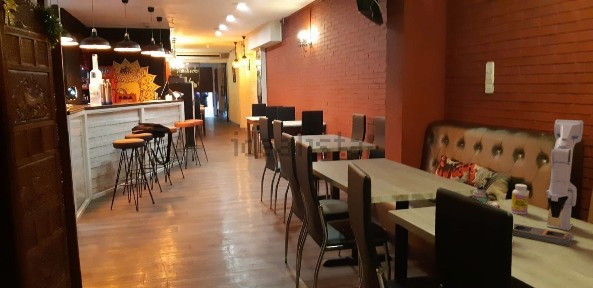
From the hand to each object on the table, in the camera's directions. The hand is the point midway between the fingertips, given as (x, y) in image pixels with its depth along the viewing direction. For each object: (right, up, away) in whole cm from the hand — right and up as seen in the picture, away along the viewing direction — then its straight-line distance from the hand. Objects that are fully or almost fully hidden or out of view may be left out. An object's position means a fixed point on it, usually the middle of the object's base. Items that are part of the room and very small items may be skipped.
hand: (556, 216), depth 169 cm
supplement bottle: (+4, -5, +36) cm, 37 cm away
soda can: (-22, -8, +8) cm, 25 cm away
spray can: (-28, -9, +4) cm, 29 cm away
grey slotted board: (-4, -9, +5) cm, 11 cm away
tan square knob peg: (0, -4, +1) cm, 4 cm away
